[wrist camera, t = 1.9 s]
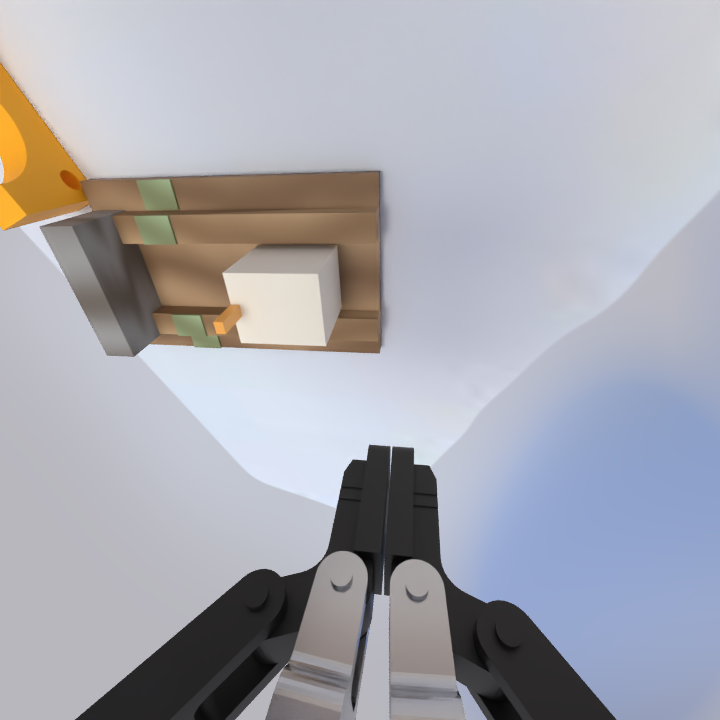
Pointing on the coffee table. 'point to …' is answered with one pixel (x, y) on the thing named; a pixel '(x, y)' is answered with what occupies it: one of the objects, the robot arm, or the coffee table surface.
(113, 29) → the coffee table surface
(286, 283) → the white cube with stick
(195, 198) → the gauge board
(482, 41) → the coffee table surface
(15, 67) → the coffee table surface
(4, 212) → the pipe clamp
